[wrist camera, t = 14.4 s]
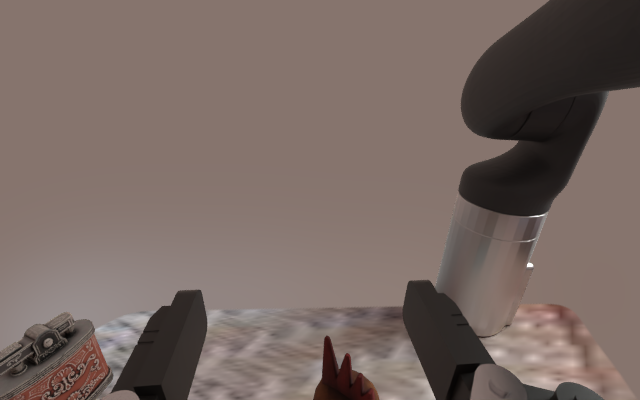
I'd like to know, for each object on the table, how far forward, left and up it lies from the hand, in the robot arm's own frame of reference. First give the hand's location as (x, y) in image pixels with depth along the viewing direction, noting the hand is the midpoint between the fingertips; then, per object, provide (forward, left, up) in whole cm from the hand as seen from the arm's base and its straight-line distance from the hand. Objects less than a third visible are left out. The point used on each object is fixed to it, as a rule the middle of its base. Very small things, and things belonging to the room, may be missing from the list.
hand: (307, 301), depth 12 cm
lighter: (+22, -11, -23) cm, 34 cm away
